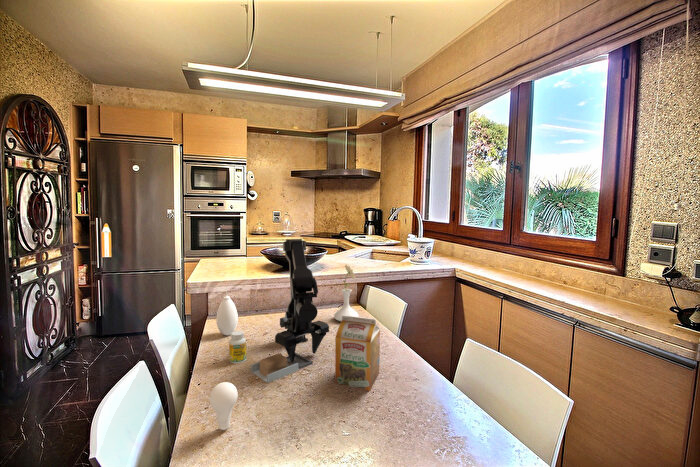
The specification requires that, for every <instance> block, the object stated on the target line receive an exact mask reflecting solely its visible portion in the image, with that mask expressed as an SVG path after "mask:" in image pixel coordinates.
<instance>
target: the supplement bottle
mask: <svg viewBox="0 0 700 467" xmlns="http://www.w3.org/2000/svg"><path fill="white" fill-rule="evenodd" d="M244 334H245V332H244V331H243V330H235V331H234V332H232V333H231V334H230V340H229V341H228V346H229V349H228V350H229V362H230V363H231V364H236V365H237V364H242V363H245V361H247V359H248V358H247V338H246V337H244V336H245V335H244Z"/></svg>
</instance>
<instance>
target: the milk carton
mask: <svg viewBox="0 0 700 467" xmlns="http://www.w3.org/2000/svg"><path fill="white" fill-rule="evenodd" d="M334 345H335V349H334V350H335V351H334V352H335V357H334V359H335V361H334V362H335V363H334V364H335V366H334V368H335V370H334V371H335V372H334V376H335V378H334V379H335V380H334V384H338V385H339V386H343V387H349V388H352V389H353V388H354V389H359V390H364V391H369V392H371V389H372V388H373V387H374V385H375V382H376V381H377V379H378V377H379V375H380V357H381V355H380V351H381V348H380V347H381V346H380V345H381V328H380V326H379V325H378V324H377V319H375V318H368V317H361V316H359V317H354V316H346V315H343V316H342V321H340V323H339V326H338V328H337V331H336V335H335V344H334Z"/></svg>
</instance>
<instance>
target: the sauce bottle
mask: <svg viewBox="0 0 700 467" xmlns="http://www.w3.org/2000/svg"><path fill="white" fill-rule="evenodd" d="M238 320H239V316H238V310H237V308H236V305H235V302H234V301H233V300H232V299H231V296H229V295H228V290H226V291H225V296H224V297H223V298H222V300H221V302H220V304H219V307H218V309H217V312H216V326H217V329H218V331H219V332H220V333H221V334H222V335H224V336H231V333H232V332H234V331H236V329H237V326H238V323H239V321H238Z"/></svg>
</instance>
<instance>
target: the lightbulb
mask: <svg viewBox="0 0 700 467" xmlns="http://www.w3.org/2000/svg"><path fill="white" fill-rule="evenodd" d="M238 396H239V393H238V390H237V387H236V386H235V385H234V384H233V383H231V382H229V381H228V382H227V381H223V382H220V383H218V384H216V385H215V386H214V387H213V388H212V389H211V391H210V393H209V398H208V399H209V404H210V407H211V408H212V410H214V412H215V414H216V420H217V423H218V425H217V426H218V429H219V430H221V431H225V430H227V429H229V428H230V426H231V419H232V412H233V409H234V406H235V405H236V402H237V401H238V398H239V397H238Z"/></svg>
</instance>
